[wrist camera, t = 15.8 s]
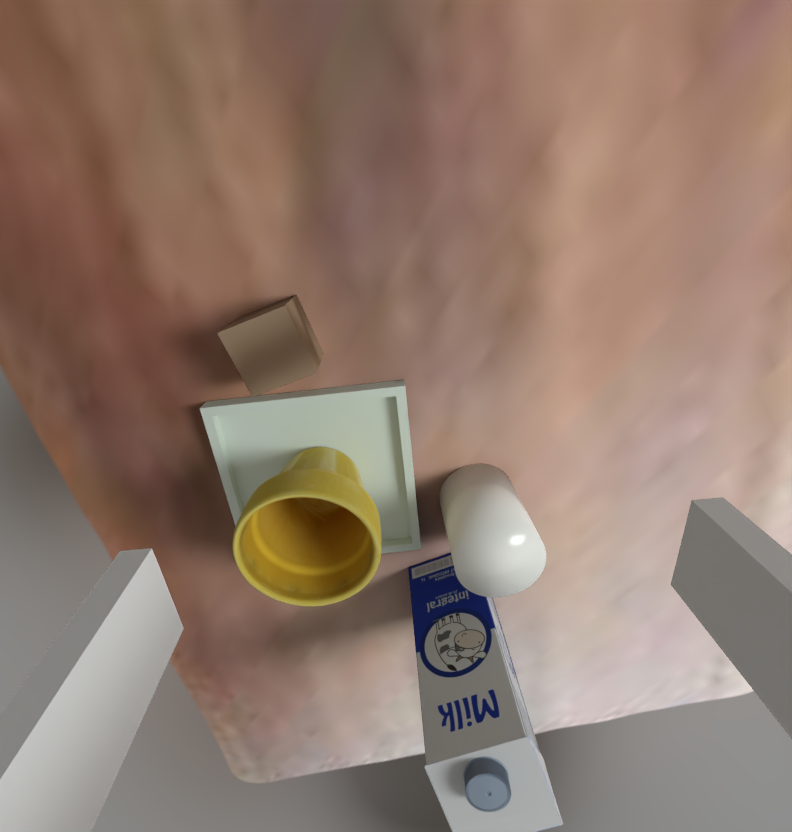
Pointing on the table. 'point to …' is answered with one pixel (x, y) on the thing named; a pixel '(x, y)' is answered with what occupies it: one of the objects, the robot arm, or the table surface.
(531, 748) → the milk carton
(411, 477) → the tray
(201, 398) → the table surface
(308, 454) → the plant pot
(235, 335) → the walnut block
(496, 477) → the white rounded capsule
